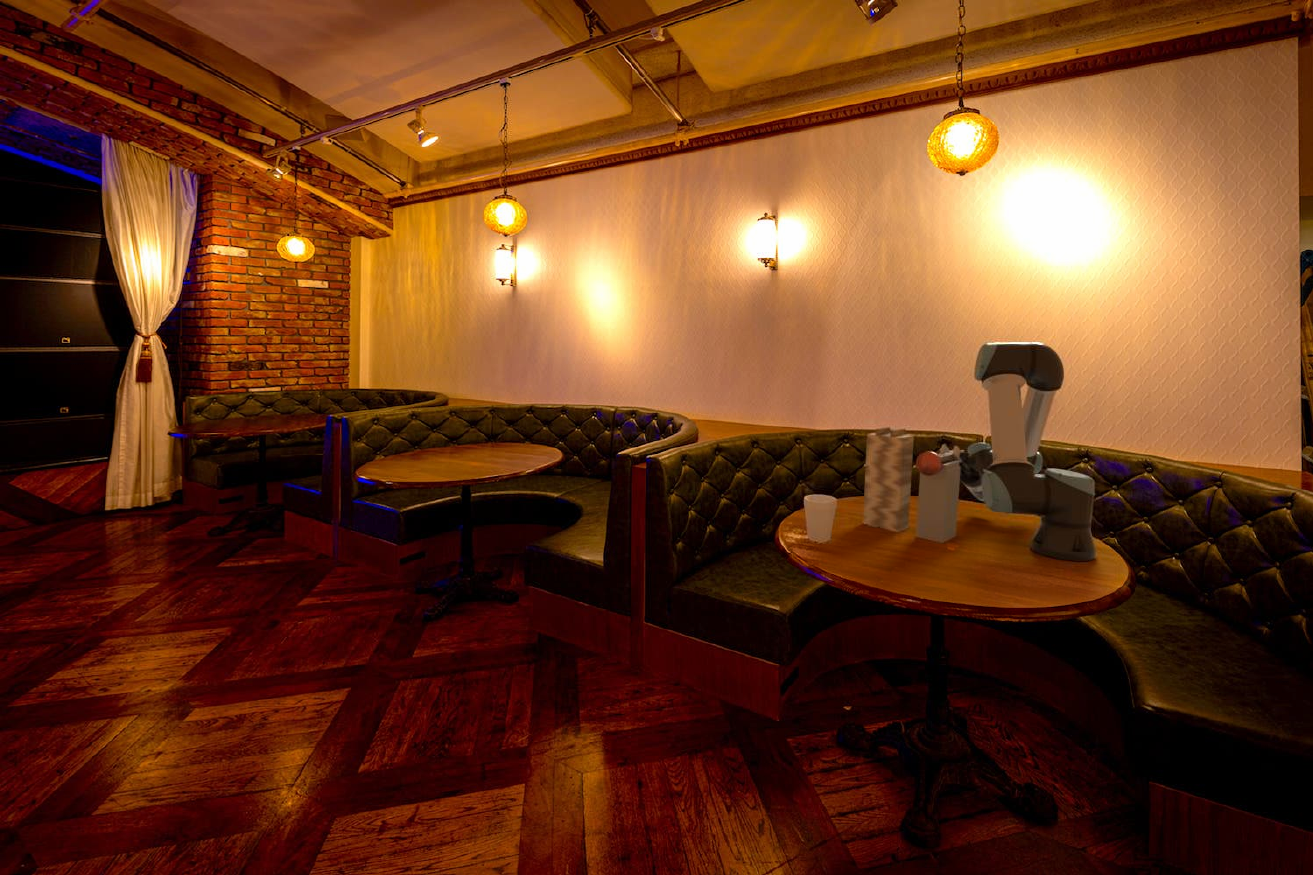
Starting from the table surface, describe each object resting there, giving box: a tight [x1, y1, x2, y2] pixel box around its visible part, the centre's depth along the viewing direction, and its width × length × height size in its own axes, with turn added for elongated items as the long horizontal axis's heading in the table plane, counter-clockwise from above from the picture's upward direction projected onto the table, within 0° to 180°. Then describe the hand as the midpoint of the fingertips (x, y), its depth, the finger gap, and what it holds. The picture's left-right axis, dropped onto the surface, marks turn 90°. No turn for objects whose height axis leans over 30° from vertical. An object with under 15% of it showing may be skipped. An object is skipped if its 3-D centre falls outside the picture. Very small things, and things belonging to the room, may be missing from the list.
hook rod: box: [915, 449, 966, 476], centre depth 180 cm, size 7×22×7 cm, turn 131°
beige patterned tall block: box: [862, 426, 915, 533], centre depth 192 cm, size 12×7×32 cm, turn 41°
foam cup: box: [803, 494, 838, 542], centre depth 179 cm, size 10×9×13 cm
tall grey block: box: [915, 461, 961, 544], centre depth 181 cm, size 8×9×24 cm
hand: (948, 449), depth 182 cm, fingers closed on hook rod, 3 cm apart
